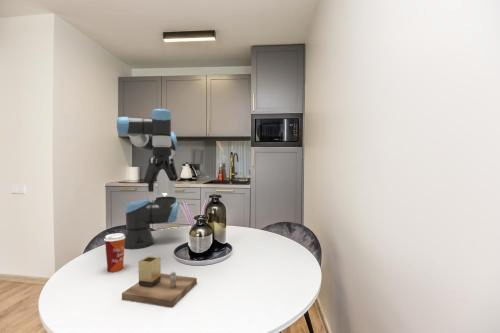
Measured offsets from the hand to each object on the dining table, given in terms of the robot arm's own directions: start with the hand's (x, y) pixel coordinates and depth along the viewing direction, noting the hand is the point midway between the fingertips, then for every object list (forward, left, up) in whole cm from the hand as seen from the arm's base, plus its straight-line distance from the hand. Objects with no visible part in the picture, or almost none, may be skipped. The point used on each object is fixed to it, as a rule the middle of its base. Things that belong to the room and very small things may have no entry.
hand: (162, 197), depth 110 cm
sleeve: (+19, +8, -26) cm, 33 cm away
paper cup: (+8, -17, -29) cm, 34 cm away
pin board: (+19, +12, -29) cm, 36 cm away
